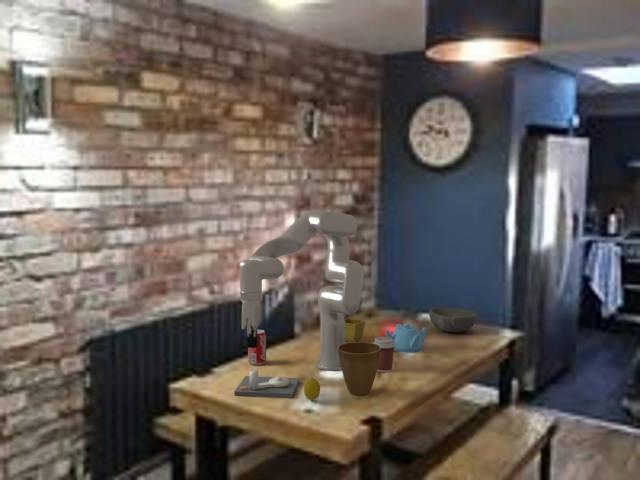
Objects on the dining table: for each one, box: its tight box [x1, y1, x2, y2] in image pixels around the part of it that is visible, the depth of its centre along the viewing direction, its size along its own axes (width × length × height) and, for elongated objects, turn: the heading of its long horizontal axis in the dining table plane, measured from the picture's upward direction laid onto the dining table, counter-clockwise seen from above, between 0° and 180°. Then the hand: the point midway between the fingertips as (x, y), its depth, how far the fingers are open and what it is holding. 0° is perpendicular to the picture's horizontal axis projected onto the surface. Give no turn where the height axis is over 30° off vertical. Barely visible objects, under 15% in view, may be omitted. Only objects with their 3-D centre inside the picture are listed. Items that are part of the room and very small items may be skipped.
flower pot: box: [344, 317, 366, 343], centre depth 306 cm, size 9×9×9 cm
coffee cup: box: [372, 336, 396, 373], centre depth 264 cm, size 9×9×12 cm
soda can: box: [247, 329, 267, 366], centre depth 272 cm, size 7×7×13 cm
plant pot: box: [338, 341, 381, 396], centre depth 238 cm, size 15×15×16 cm
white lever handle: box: [249, 369, 289, 390], centre depth 239 cm, size 14×7×6 cm, turn 118°
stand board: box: [234, 375, 300, 399], centre depth 242 cm, size 20×17×2 cm
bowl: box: [428, 306, 478, 333], centre depth 324 cm, size 23×22×10 cm
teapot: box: [384, 323, 428, 353], centre depth 294 cm, size 15×15×11 cm
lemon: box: [303, 377, 321, 402], centre depth 229 cm, size 6×6×8 cm
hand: (252, 347), depth 239 cm, fingers closed
